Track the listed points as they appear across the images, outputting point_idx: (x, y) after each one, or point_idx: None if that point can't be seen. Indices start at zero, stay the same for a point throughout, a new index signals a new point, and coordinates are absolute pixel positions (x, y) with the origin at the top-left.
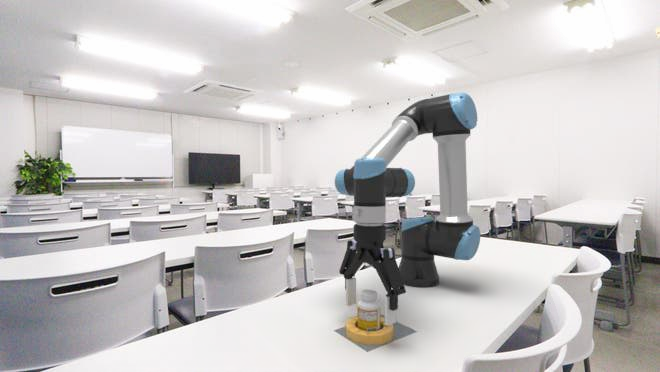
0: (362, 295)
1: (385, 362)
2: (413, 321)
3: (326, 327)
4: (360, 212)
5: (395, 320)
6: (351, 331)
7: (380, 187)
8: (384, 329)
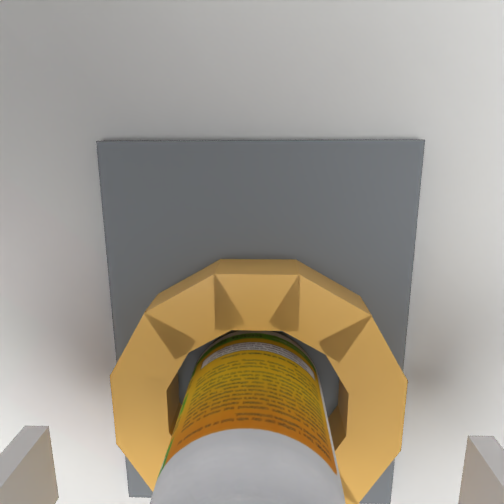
0: None
1: None
2: (287, 4)
3: (65, 483)
4: None
5: (501, 450)
6: None
7: None
8: (361, 388)
